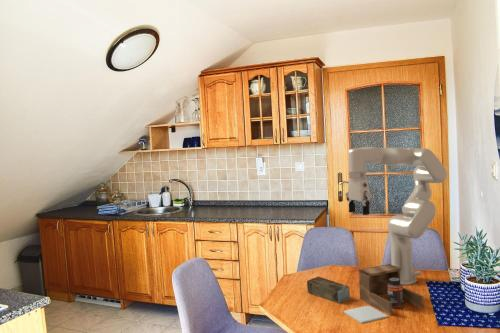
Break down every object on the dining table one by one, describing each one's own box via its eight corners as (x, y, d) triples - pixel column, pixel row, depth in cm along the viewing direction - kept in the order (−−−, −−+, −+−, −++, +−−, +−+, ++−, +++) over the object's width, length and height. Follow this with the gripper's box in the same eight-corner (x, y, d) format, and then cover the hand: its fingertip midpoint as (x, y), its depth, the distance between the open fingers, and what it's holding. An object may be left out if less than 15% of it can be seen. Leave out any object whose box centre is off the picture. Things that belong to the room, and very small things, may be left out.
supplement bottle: (403, 303, 179) (402, 277, 179) (403, 309, 174) (402, 281, 173) (388, 302, 181) (387, 276, 181) (387, 308, 176) (386, 280, 175)
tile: (368, 306, 178) (368, 305, 178) (387, 317, 167) (387, 315, 167) (343, 312, 174) (343, 310, 174) (361, 323, 163) (361, 321, 163)
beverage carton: (338, 304, 183) (337, 289, 183) (306, 293, 199) (305, 279, 199) (350, 299, 188) (349, 284, 188) (318, 289, 204) (318, 275, 203)
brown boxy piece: (390, 292, 193) (389, 264, 192) (422, 307, 174) (421, 276, 174) (360, 298, 188) (358, 269, 187) (390, 315, 169) (388, 282, 168)
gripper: (377, 176, 189) (378, 214, 190) (352, 174, 204) (353, 210, 205) (363, 177, 186) (364, 216, 186) (339, 175, 201) (340, 211, 202)
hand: (358, 213), depth 196 cm, fingers open, 9 cm apart
